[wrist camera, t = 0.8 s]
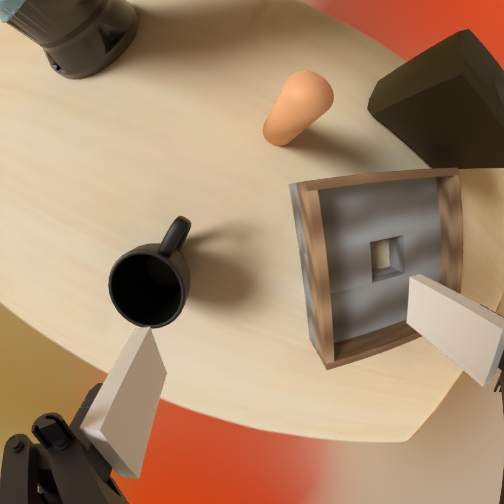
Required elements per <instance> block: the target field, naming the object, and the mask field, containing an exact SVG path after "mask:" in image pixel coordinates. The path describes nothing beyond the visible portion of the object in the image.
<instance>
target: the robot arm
mask: <svg viewBox="0 0 504 504" xmlns="http://www.w3.org/2000/svg"><path fill="white" fill-rule="evenodd" d="M0 19H1V21H2V22H4V23H5V22H6V23H7V24H9V25H10V26H12V27H13V28H15V29H16V30H18V31H19V32H21V33H22V34H24V35H25V36H27V37H28V38H30V39H31V40H33V41H34V42H36V43H37V44H39V45H40V46H41V47H43V50H44V52H45V54H46V56H47V58H48V61H49V63H50V65H51V67H52V68H53V69H54V70H55V71H56V72H57V73H59V74H60V75H62V76H63V77H65V78H69V79H80V78H84V77H87V76H90V75H92V74H95V73H97V72H99V71H100V70H102V69H104V68H105V67H107V66H108V65H110V64H111V63H112V62H113V61H115V60H116V59H117V58H118V57H119V56H120V55H121V54H122V53H123V52H124V51H125V50H126V48H127V47H128V46H129V45H130V43H131V42H132V40H133V38H134V36H135V34H136V32H137V29H138V16H137V14H136V12H135V10H134V8H133V6H132V5H131V4H130V3H129V2H127V1H126V0H0ZM406 323H407V324H409V325H410V326H411V327H412V328H414V329H415V330H416V331H417V332H418V333H420V334H421V335H422V336H423V337H425V338H426V339H427V340H428V341H429V342H431V343H432V344H433V345H434V346H436V347H437V348H438V349H439V350H440V351H442V352H443V353H444V354H445V355H446V356H447V357H449V358H450V359H451V360H452V361H453V362H455V363H456V364H457V365H458V366H459V367H460V368H462V369H463V370H464V371H465V372H466V373H468V374H469V375H470V376H471V377H472V378H473V379H474V380H475V381H477V382H478V383H479V384H480V385H481V386H482V387H484V386H485V385H487V384H488V383H489V382H490V381H492V380H493V379H494V376H495V374H496V371H497V369H498V368H499V369H500V370H502V372H501V374H500V376H499V379H498V381H497V384H496V386H495V388H494V392H496V390H497V388H498V386H500V385H501V387H500V390H499V392H502V401H503V413H504V317H502V316H501V315H499V314H496V313H495V312H494V311H492V310H490V309H488V308H486V307H485V306H483V305H480V304H478V303H476V302H474V301H472V300H470V299H468V298H467V297H465V296H463V295H461V294H459V293H457V292H455V291H453V290H451V289H449V288H447V287H445V286H443V285H441V284H439V283H437V282H435V281H433V280H431V279H429V278H427V277H425V276H423V275H421V274H418V275H414V276H411V277H410V279H409V298H408V311H407V322H406ZM166 374H167V372H166V370H165V367H164V364H163V362H162V359H161V356H160V354H159V351H158V348H157V345H156V342H155V340H154V337H153V334H152V331H151V328H150V327H143V328H136V329H135V330H134V332H133V334H132V335H131V337H130V339H129V340H128V342H127V344H126V345H125V347H124V349H123V350H122V352H121V354H120V355H119V357H118V359H117V360H116V362H115V364H114V366H113V367H112V369H111V371H110V373H109V374H108V376H107V378H106V380H105V381H104V383H98V384H97V385H95V386H94V387H93V388H92V389H91V390H90V391H89V393H88V394H87V396H86V398H85V401H83V403H82V405H81V408H79V410H78V412H77V413H76V415H75V417H74V419H73V421H72V422H71V424H70V426H68V425H67V424H66V422H65V421H64V419H63V418H62V416H61V415H59V414H57V413H47V414H44V415H42V416H40V417H39V418H38V419H37V420H35V422H34V424H33V425H32V433H33V434H34V436H35V437H36V438H37V439H38V441H39V442H40V443H41V444H33V443H32V442H31V440H30V439H29V438H28V437H27V436H26V435H24V434H16V435H13V436H12V437H10V438H9V439H8V441H7V442H6V444H5V448H4V454H3V460H2V468H1V478H0V504H129V503H128V501H127V500H126V498H125V497H124V495H123V494H122V492H121V491H120V489H119V487H118V486H117V484H116V482H115V481H114V479H113V478H112V477H111V476H110V474H111V471H112V468H113V469H114V471H115V472H116V473H117V474H118V475H120V477H127V478H135V479H139V477H140V473H141V468H142V464H143V460H144V456H145V451H146V447H147V443H148V439H149V436H150V431H151V428H152V424H153V420H154V416H155V413H156V409H157V405H158V402H159V398H160V395H161V391H162V388H163V384H164V381H165V377H166ZM37 486H38V487H39V493H38V488H37ZM499 504H504V470H503V481H502V490H501V496H500V503H499Z"/></svg>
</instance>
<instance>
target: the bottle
mask: <svg viewBox="0 0 504 504" xmlns="http://www.w3.org/2000/svg"><path fill="white" fill-rule="evenodd" d="M367 109H368V110H369V112H370V113H371V114H372V115H373V116H374V117H375V118H376V119H378V120H379V121H380V122H382V123H383V124H384V125H385V126H387V127H388V128H389V129H390V130H391V131H393V132H394V133H395V134H396V135H397V136H399V137H400V138H401V139H402V140H403V141H404V142H405V143H407V144H408V145H409V146H410V147H411V148H412V149H413V150H414V151H415V152H416V153H418V154H419V155H420V156H421V157H422V158H423V159H424V160H425V161H426V162H427V163H428V164H429V165H430V166H431V167H432V168H433V169H437V168H458V169H469V168H504V71H503V70H502V68H501V67H500V65H499V64H498V63H497V61H496V60H495V59H494V57H493V56H492V55H491V54H490V52H489V51H488V50H487V49H486V48H485V46H484V45H483V44H482V43H481V42H480V41H479V40H478V38H477V37H476V36H475V35H474V34H473V33H472V32H471V31H470V30H469V29H467V30H463V31H459V32H457V33H455V34H453V35H451V36H449V37H448V38H446V39H444V40H443V41H441V42H439V43H437V44H436V45H434V46H433V47H431V48H429V49H427V50H426V51H424V52H422V53H421V54H419V55H418V56H416V57H414V58H413V59H411V60H410V61H408V62H407V63H405V64H403V65H402V66H400V67H399V68H397V69H396V70H394V71H393V72H391V73H390V74H388V75H387V76H385V77H384V78H382V79H381V80H379V81H378V83H377V85H376V87H375V89H374V91H373V93H372V95H371V97H370V99H369V103H368V108H367Z"/></svg>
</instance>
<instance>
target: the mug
mask: <svg viewBox="0 0 504 504" xmlns="http://www.w3.org/2000/svg"><path fill="white" fill-rule="evenodd" d="M190 228H191V222H190V220H188V219H187V218H185V217H183V216H179V217H177V218H176V219H175V220H174V222H173V223H172V225H171V226H170V228H169V230H168V231H167V233H166V235H165V237H164V239H163V241H162V242H161V244H146V245H142V246H139V247H137V248H135V249H133V250H131V251H129V252H128V253H126V254H124V255H123V256H121V257H120V258H119V259H118V260H117V261H116V263H115V264H114V266H113V267H112V269H111V272H110V276H109V284H108V286H109V294H110V297H111V300H112V302H113V304H114V306H115V308H116V309H117V311H118V312H119V313H120V314H121V315H122V316H123V317H124V318H125V319H126V320H128V321H129V322H131V323H133V324H135V325H137V326H140V327H150V328H160V327H163V326H166V325H168V324H170V323H171V322H173V321H174V320H175V319H176V318H177V317H178V316H179V315H180V313H181V312H182V309H183V307H184V305H185V302H186V300H187V297H188V294H189V289H190V272H189V268H188V265H187V263H186V261H185V259H184V257H183V256H182V254H181V253H180V252H179V250H180V249H181V247H182V245H183V243H184V241H185V239H186V237H187V235H188V233H189V230H190Z"/></svg>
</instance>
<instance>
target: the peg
mask: <svg viewBox="0 0 504 504" xmlns="http://www.w3.org/2000/svg"><path fill="white" fill-rule="evenodd" d="M333 99H334V95H333V90H332V88H331V86H330V84H329V83H328V82H327V81H326V80H325V79H324V78H323V77H322V76H320V75H318V74H316V73H314V72H310V71H300V72H297V73H294V74H292V75H291V76H290V77H289V78H288V79H287V81H286V83H285V85H284V87H283V89H282V91H281V92H280V94H279V96H278V98H277V100H276V102H275V104H274V106H273V108H272V110H271V112H270V114H269V116H268V118H267V120H266V122H265V124H264V126H263V134H264V137H265V139H266V140H267V141H268V142H269V143H271V144H273V145H276V146H284V145H286V144H288V143H289V142H291V141H292V140H293V139H294V138H295V137H296V136H298V135H299V134H300V133H301V132H302V131H303V130H305V129H306V128H307V127H308V126H309V125H311V124H312V123H313V122H314V121H315V120H317V119H318V118H319V117H320V116H321V115H323V114H324V113H325V112H326V111H327V110H329V108H330V107H331V106H332V103H333Z"/></svg>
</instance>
